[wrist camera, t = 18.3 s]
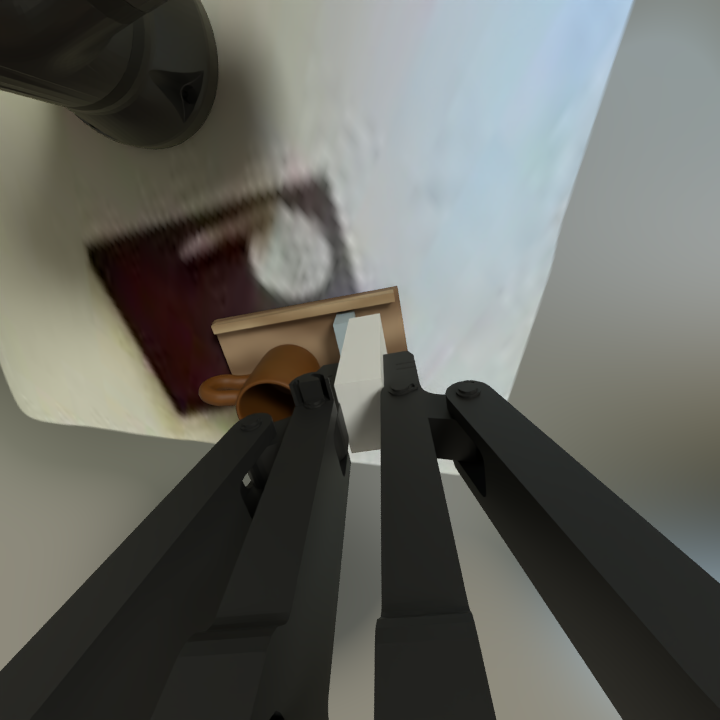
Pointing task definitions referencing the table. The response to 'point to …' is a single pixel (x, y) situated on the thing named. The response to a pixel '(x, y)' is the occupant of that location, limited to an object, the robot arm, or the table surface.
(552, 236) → the table surface
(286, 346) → the mug
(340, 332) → the bar
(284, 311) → the housing base
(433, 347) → the table surface
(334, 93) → the table surface
